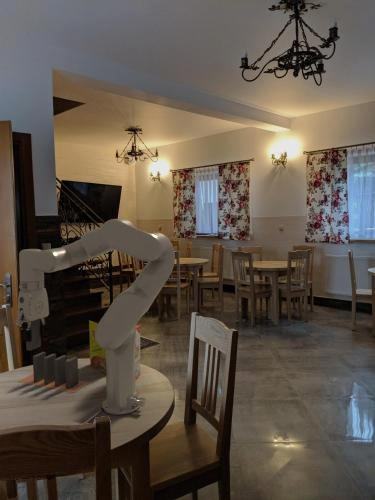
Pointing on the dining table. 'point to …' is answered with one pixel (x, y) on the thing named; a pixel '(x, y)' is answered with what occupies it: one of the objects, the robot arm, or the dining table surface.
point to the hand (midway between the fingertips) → (33, 338)
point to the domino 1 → (34, 336)
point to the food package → (96, 350)
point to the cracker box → (137, 353)
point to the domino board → (52, 384)
